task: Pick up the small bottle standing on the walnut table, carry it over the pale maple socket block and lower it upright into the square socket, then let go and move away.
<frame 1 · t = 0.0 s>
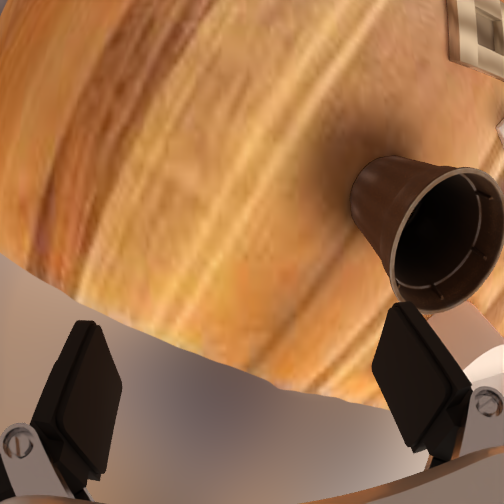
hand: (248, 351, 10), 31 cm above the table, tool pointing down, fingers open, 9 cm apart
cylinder: (444, 334, 57), on the table
socket block: (480, 32, 30), on the table
plant pot: (387, 195, 42), on the table
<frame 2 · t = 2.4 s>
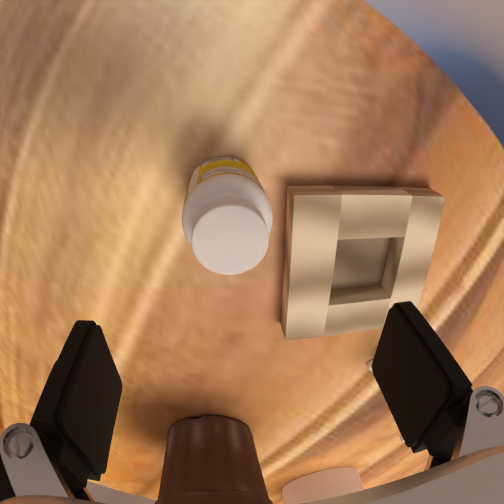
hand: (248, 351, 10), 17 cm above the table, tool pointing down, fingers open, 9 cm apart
supplement bottle: (223, 187, 25), on the table
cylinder: (320, 482, 56), on the table
socket block: (356, 258, 29), on the table
plant pot: (210, 433, 41), on the table
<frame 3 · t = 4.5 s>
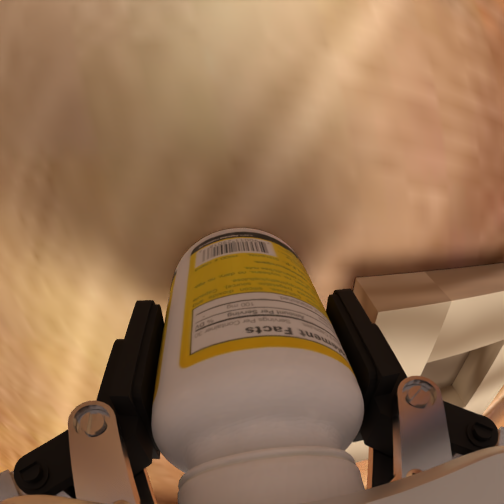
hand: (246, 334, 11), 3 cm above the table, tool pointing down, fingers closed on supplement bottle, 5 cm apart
supplement bottle: (240, 282, 13), on the table, touching gripper
socket block: (432, 361, 17), on the table
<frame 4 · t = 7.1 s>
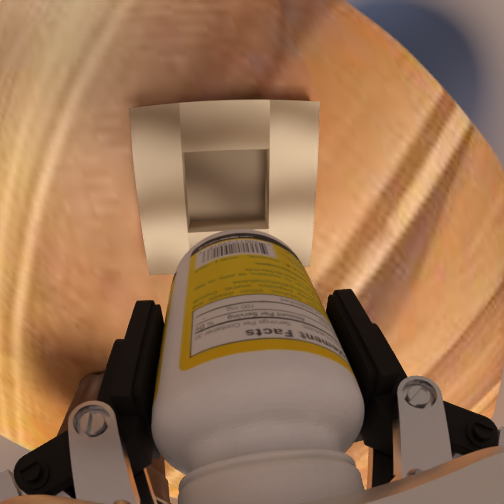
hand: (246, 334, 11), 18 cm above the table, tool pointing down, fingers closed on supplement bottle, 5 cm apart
supplement bottle: (240, 283, 13), point 15 cm above the table, touching gripper
socket block: (226, 183, 27), on the table
plant pot: (120, 397, 38), on the table
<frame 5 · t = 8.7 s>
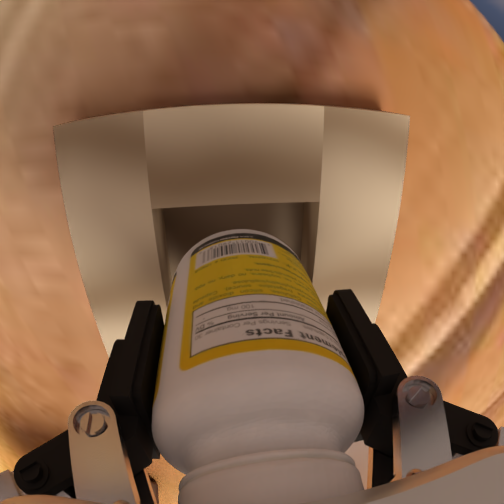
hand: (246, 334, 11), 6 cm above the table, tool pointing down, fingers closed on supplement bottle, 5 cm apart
supplement bottle: (240, 283, 13), point 3 cm above the table, touching gripper
socket block: (235, 250, 16), on the table
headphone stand: (337, 414, 24), on the table
when the fingers open (4 cm above the table, at t = 10.0 s): supplement bottle stays where it is, resting on socket block.
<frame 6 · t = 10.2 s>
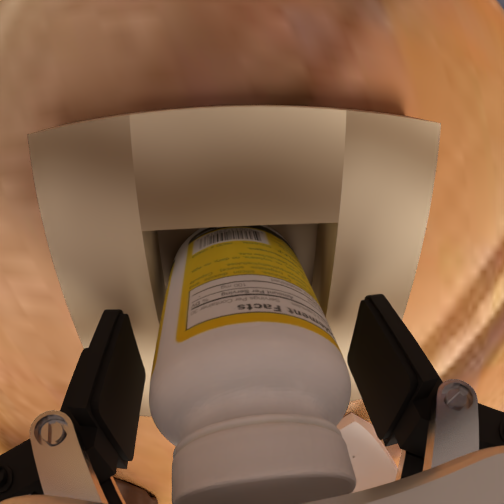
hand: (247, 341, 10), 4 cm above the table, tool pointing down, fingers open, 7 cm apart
supplement bottle: (235, 271, 14), resting on socket block
socket block: (239, 273, 14), on the table
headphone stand: (344, 434, 22), on the table
plant pot: (105, 488, 26), on the table
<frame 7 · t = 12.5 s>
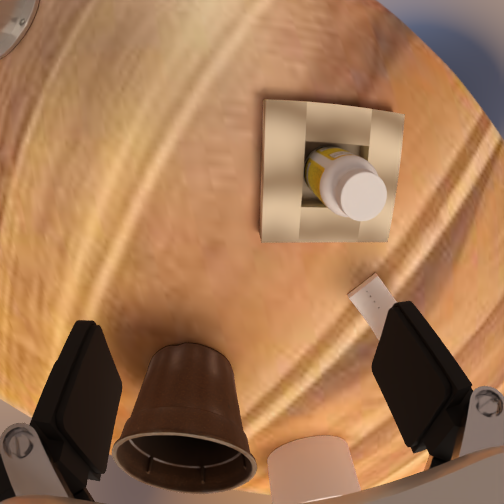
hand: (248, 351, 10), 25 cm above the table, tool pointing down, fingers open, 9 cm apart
supplement bottle: (327, 169, 32), resting on socket block
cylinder: (307, 455, 58), on the table
socket block: (328, 170, 32), on the table
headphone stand: (371, 296, 40), on the table
plant pot: (191, 370, 44), on the table
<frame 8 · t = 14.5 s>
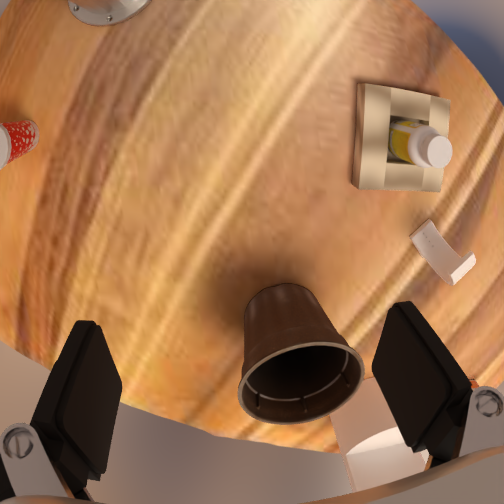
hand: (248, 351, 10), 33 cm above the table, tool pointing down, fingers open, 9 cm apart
supplement bottle: (398, 137, 40), resting on socket block
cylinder: (363, 400, 67), on the table
socket block: (399, 138, 40), on the table
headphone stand: (425, 239, 48), on the table
beverage cup: (27, 135, 34), on the table
plant pot: (282, 312, 52), on the table
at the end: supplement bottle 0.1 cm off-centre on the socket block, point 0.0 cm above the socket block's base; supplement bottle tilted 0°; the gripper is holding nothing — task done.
